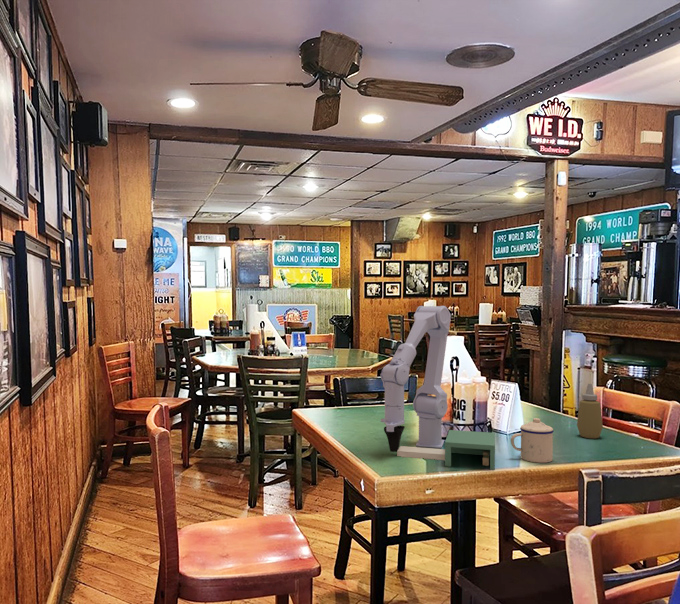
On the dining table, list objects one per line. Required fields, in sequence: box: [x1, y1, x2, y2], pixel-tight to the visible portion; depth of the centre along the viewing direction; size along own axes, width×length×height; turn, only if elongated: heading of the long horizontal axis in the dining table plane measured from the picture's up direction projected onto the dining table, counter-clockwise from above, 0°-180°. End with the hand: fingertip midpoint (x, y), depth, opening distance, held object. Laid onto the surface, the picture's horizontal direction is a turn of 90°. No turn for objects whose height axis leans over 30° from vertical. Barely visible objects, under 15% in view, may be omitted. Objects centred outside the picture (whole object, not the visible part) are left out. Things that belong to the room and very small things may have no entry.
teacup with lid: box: [510, 417, 554, 464], centre depth 159 cm, size 12×9×12 cm
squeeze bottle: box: [576, 383, 604, 439], centre depth 187 cm, size 8×8×18 cm
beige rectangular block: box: [396, 445, 445, 461], centre depth 162 cm, size 6×14×2 cm, turn 74°
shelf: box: [444, 429, 496, 471], centre depth 157 cm, size 16×13×6 cm
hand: (394, 451), depth 163 cm, fingers closed
